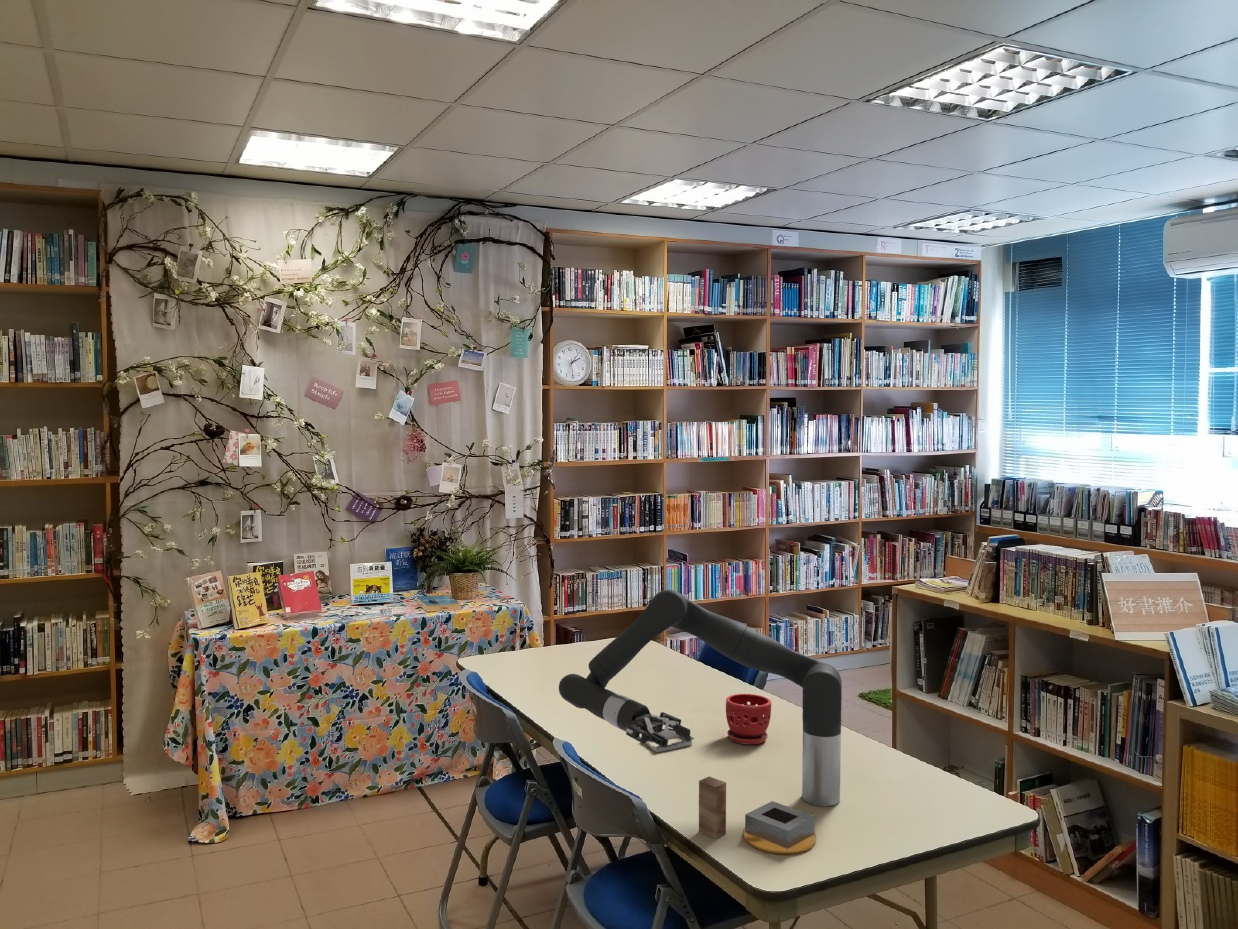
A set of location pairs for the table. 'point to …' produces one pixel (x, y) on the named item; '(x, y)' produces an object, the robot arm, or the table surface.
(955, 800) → the table surface
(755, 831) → the grey socket block
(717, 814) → the brown wooden block
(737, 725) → the plant pot
